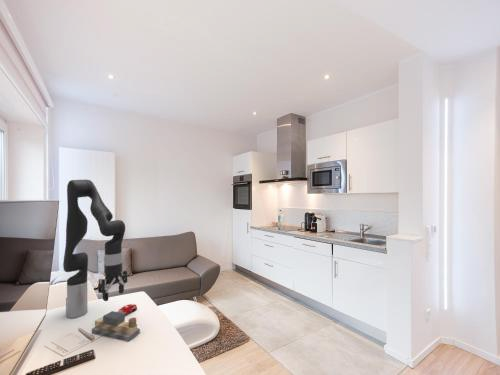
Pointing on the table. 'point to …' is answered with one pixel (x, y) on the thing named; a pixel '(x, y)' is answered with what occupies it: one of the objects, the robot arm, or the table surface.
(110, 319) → the grey rectangular box
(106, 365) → the table surface
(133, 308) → the race car
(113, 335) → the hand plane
